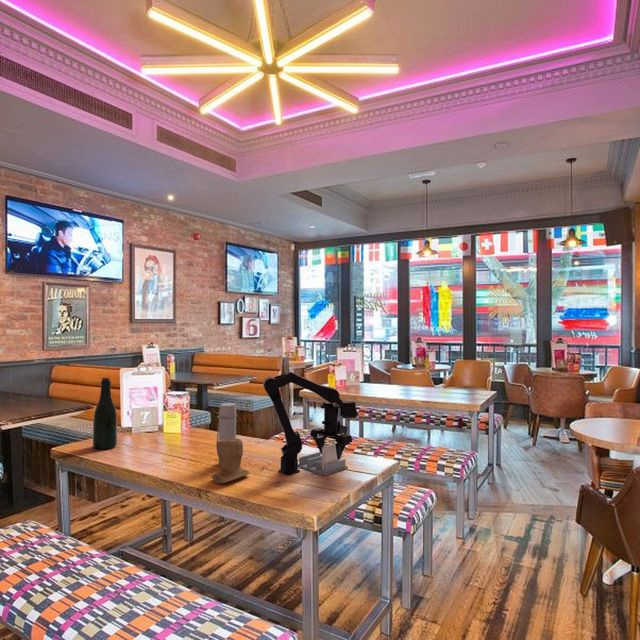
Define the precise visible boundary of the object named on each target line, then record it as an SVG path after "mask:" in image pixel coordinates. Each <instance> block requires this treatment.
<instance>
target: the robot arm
mask: <svg viewBox="0 0 640 640" xmlns="http://www.w3.org/2000/svg"><path fill="white" fill-rule="evenodd" d="M291 383H292V384H294V385H297V386H299V387H301V388H303V389H306V390H307V391H310V392H312V393H315V394H316V395H318V396H319V397H321V398H322V399H323V400H325V401H326V402H328V403H326V402H325V401H322V403H321V404H319V407H320V409H323V410H324V411H323V420H322V421H321V425H323V427H318V428H314V429H311V430H310V437H312V440H313V441H314V442H315V445H316V446H317V448H318V450H319V451H318V452H320V453H321V456H322V447H324V446H325V441H326V440H327V438H329V439H332V440H335V442H336V443H334V444H335V447H336V453H337V459H338V460H341V458H342V455H343V452H344V450H345V447H346V446H347V445H349V444H351V443H353V436H352V435H351V434H347V433H348V429H349V427H348V426H346V425H342V423H341V421H340V420H339V417H341V419H342V420H344V419H357V418H358V417H357V415H358V410H357V405H356V402H355V401H344V400H342V399H341V397H340V393H339V391H338V390H337V389H336V388H334V387H331V386H328V385H325V384H324V385H323V384H318V383H315V382H314V381H312V380H309V379H307V378H305V377H303V376H300V375H298V374H296V373H295V372H293V371H288V372H286V373H283V374H280V375H277V376H274V377H273V376H268V377H266V378H265V379H264V380H263V382H262V386H263V388H264V391H265V392H266V393H267V395H268V398H269V399H270V400H271V402H272V404H273V407H274V409H275V412H276V414H277V417H278V419H279V422H280V425H281V427H282V430H283V433H284V440H285V444H284V445H283V446H282V447H281V448H280V451H281V454H282V456H280V469H278V470H277V472H278V473H281V474H284V475H287V476H289V475H290V476H291V475H293V474H297V473H300V471H301V470H299V467H298V464H299V458H298V454H300V453H301V451H302V449H303V444H304V443H303V441H302V439H301V435H300V432H299V430H296V431H294V429H293V426H292V423H291V421H290V419H289V416H288V413H287V411H286V408H285V405H284V403H283V401H282V396H281V390H280V388H282V387H284V386H286V385H288V384H291ZM334 404H336V405H334ZM319 407H318V408H319Z"/></svg>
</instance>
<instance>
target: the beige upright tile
mask: <svg viewBox="0 0 640 640" xmlns="http://www.w3.org/2000/svg"><path fill="white" fill-rule="evenodd" d="M335 444H336V443H333V444H329V445H324V447H322V455H321V456H322V470H324V465H325V464H328V463H332V462H335V461H338V459H337V453H336V447H335Z"/></svg>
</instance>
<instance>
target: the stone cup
mask: <svg viewBox="0 0 640 640" xmlns="http://www.w3.org/2000/svg"><path fill="white" fill-rule="evenodd" d="M216 442H217V441H216ZM216 453H217V457H218V463H219V462H220V464H219V471H217V472H216V473H213V474H211V476H210V477H211V478H212V480H214V482H216V483H217V484H219V485H220V484H226V483H229V482H231V481H235V480H237V479H240V478H243V477H245V476H247V475H249V474H250V471H249V470H246V469H244V468H242V467H241V465H242V459H243V454H244V445H243V441H242V439H241V438H236V439H224V440H219V439H218V442H217V449H216Z"/></svg>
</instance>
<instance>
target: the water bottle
mask: <svg viewBox="0 0 640 640" xmlns="http://www.w3.org/2000/svg"><path fill="white" fill-rule="evenodd" d="M218 413H219V414H218V415H217V417H216V418H218V424H217V434H216V444H215V445H216V446H215V447H216V450H217V442H218V441H219V440H224V439H237V405H236V403H234V402H233V403H232V402H226V403H225V402H224V403H220V404H219V412H218ZM218 463H219V465H220V462H219V461H218Z"/></svg>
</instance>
